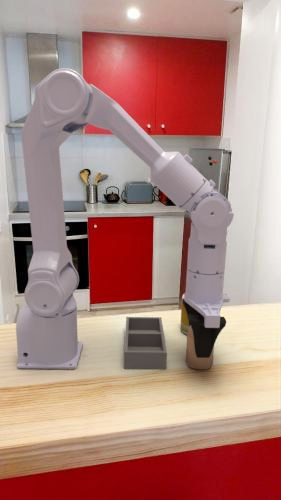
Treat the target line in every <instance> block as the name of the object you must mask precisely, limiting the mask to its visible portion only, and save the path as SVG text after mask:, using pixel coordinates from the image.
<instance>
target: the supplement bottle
mask: <svg viewBox="0 0 281 500" xmlns="http://www.w3.org/2000/svg"><path fill="white" fill-rule="evenodd" d="M182 299H184V294H182V297H181V300H182ZM179 327H180V331H181V333H182V334H185V335H186V336H187V332H188V328H189V322H188V317H187V312H186V309H185V307H184V305H183V302H182V301H181V312H180V326H179Z"/></svg>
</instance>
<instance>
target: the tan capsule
mask: <svg viewBox="0 0 281 500" xmlns="http://www.w3.org/2000/svg"><path fill="white" fill-rule="evenodd" d="M186 338H187V339H186V349H185V350H186V351H185V363H186V364H187V366H189V367H190V368H192V369H196V370H207V369H210V368H211V367H212V366H213V365H214V364H213V363H214V350H215V346H214V347H213V350H212V353H211V355H210V357H209V358H197V356H196V353H195V347H194V336H193V330H192V327H191V325H190V326H189V328H188V332H187V335H186Z"/></svg>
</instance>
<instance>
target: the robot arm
mask: <svg viewBox="0 0 281 500" xmlns="http://www.w3.org/2000/svg"><path fill="white" fill-rule="evenodd" d="M34 87H35V88H34V100H33V102H32V105H31V107H30V110H29V112H28V114H27V117H26V119H25V122H24V124H23V127H22V129H21V147H22V154H23V162H24V163H23V164H24V174H25V184H26V185H25V186H26V193H27V201H28V204H27V205H28V213H29V220H30V221H29V222H30V233H31V239H32V251H33V254H32V257H31V260H30V263H29V267H28V268H27V274H28V281H27V284H26V287H25V290H24V301H25V303H26V306H21V307H20V309H19V311H18V314H17V317H16V324H15V331H16V333H15V334H16V346H17V347H16V348H17V349H16V350H17V358H18V359H17V362H18V363H17V364H16V367H17V368H18V369H55V370H56V369H60V370H61V369H67V370H68V369H69V370H70V369H71V370H73V369H74V370H75V369H77V367H78V365H79V364H78V363H79V362H80V361H79V360H80V357H81V354H82V349H83V345H84V342H82V341H78V310H77V309H78V308H77V307H78V306H77V305H78V304H77V301H76V299H75V297H74V292H75V291H76V290H77V288H78V286H79V284H80V283H79V282H80V276H79V272H78V271H77V269H76V268H75V266H74V262H73V256H72V253H71V251H70V250H69V248H68V244H67V241H68V240H67V231H66V221H65V220H66V217H65V208H64V207H65V206H64V195H63V181H62V170H61V169H62V168H61V156H60V155H61V154H60V147H61V145H62V144H63V143H64V142H65V141H66V140H67V139H68V138H69V137H70V136H72V134H73V133H74V132H76V131H79V130H81V129H82V128H85V127H86V126H88V125H91V126H93V127H95V128H98V129H99V128H100V129H103V130H106V131H110V132H111V133H112V134H113V135H114V136H115V137H116V138H117V139H118V140H120V141H121V142H122V144H124V145H125V146H126V147H127V148H128V149H129V150H130V151H132V153H133V154H135V156H137V157H138V158H139V159H140V160H141V161H143V163H145V164H146V166H148V167H149V169H150V182H151V183H153V185H155V187H156V188H157V189H159V190H160V191H161V192H162V193H163V194H164V195H165V196H166V197H167V198H168V199H169V200H171V202H172V203H173V204H174V205H175V206H177V208H178V209H180V210H181V211H184V212H185V211H186V212H188V215H189V218H190V219H191V223H190V236H189V238H188V246H187V247H188V248H187V263H186V264H187V265H186V278H185V283H186V284H185V292H184V293H183V295H184V299H182V298H181V303H182V302H183V305H184V307H185V309H186V312H187V317H188V322H189V326H190V325H191V327H192V330H193V336H194V347H195V353H196V356H197V358H209V357H210V355H211V353H212V350H213V347H214V348H215V344H216V341H217V339H218V336H219V335H220V334H221V332H222V330H223V329H224V328H225V327H226V325H227V320H226V318H225V316H221V309H222V307H223V304H224V303H230V301H231V299H230V298H231V297H230V295H228V294H227V293H224V292H223V291H224V283H225V282H224V280H225V270H226V258H227V246H228V242H227V235H228V228H229V226H230V225H231V223H232V222H233V219H234V216H235V215H234V213H233V208H232V204H231V203H230V201H229V199H228V198H227V197H225V195H223V194H222V193H221V191H219V190H218V189H215V186H216V183H215V182H214V180H212V179H209V180H208V179H207V178H205V177H204V175H203V174H202V173H201V172H200V171H199V170H198V169H197V168H195V167H194V165H192V163H193V158H192V157H191V156H190V155H189V154H185V155H182V153H181V152H179V151H164V149H163V148H162V147H161V146H160V145H159V144H158V143H157V142H156V141H155V140H154V139H153V138H152V137H151V136H150V135H149V134H148V133H147V132H146V131H145V130H144V129H143V128H142V127H141V126H140V125H139V124H138V123H137V122H136V120H135V119H134V118H132V117H131V116H130V115H129V114H128V113H127V111H125V109H124V108H123V107H122V106H121V105H120V104H119V103H118V102H117V101H115V100H114V99H113V98H111V97H110V96H109V95H107V94H106V93H105V92H103V91H102V90H100V89H99V88H98V87H96V86H95V85H93V84H92V83H90V84H89V83H87V81H86V80H85V78H84V77H83V76H82V75H81V74H80V73H79V72H77V71H76V70H74V69H71V68H67V67H65V68H63V67H62V68H56V69H55V70H53V71H52V72H50V73H48V75H47V76H45V77H44V78H43V79H42V80H41V81H40V82H39V83H38V84H37V85H36V86H34Z"/></svg>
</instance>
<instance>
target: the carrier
mask: <svg viewBox="0 0 281 500" xmlns="http://www.w3.org/2000/svg"><path fill="white" fill-rule="evenodd" d="M124 331H125V332H124V333H125V336H124V351H123V353H124V354H123V359H124V360H123V361H124V363H123V368H124V370H167V359H168V351H167V350H168V349H167V345H166V344H167V343H166V338H165V332H164V326H163V319H162V317H159V316H157V317H156V316H152V317H151V316H150V317H149V316H126V318H125V330H124Z"/></svg>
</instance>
